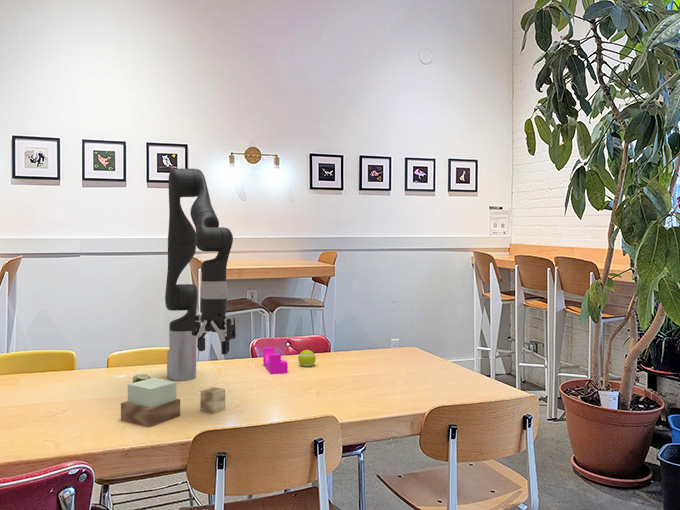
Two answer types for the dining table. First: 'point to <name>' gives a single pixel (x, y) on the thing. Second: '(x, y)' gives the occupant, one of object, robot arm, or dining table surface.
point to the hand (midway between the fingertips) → (213, 352)
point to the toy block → (274, 362)
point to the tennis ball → (306, 358)
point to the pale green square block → (151, 392)
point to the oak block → (212, 400)
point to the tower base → (150, 413)
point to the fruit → (140, 377)
